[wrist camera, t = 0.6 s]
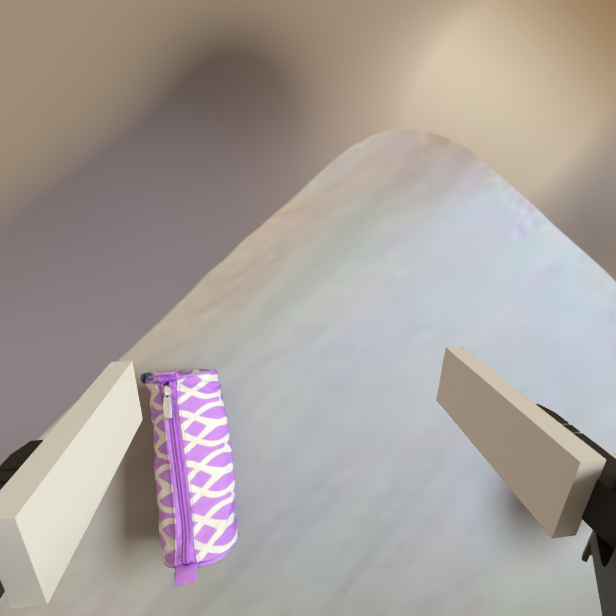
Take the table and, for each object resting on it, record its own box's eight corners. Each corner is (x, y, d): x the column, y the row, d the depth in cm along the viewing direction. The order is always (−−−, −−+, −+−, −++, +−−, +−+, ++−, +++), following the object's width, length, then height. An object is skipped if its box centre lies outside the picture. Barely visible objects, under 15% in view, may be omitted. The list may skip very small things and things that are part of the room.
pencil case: (153, 373, 46) (122, 374, 36) (221, 359, 47) (207, 356, 38) (178, 546, 42) (149, 596, 33) (250, 526, 43) (243, 568, 34)
